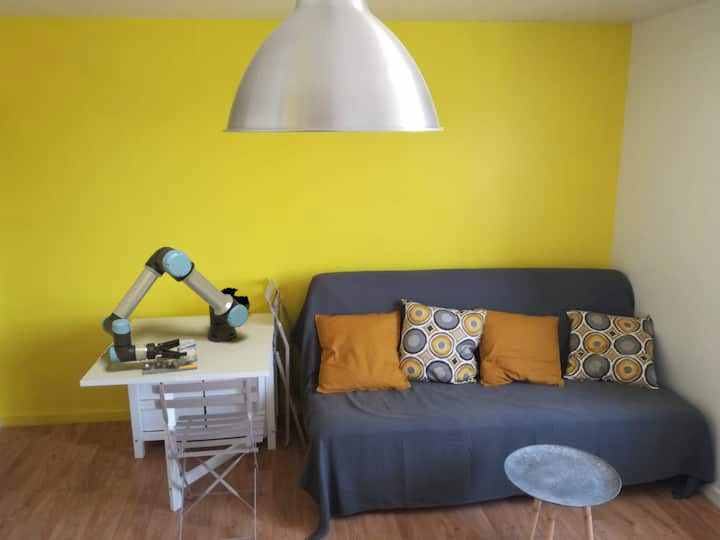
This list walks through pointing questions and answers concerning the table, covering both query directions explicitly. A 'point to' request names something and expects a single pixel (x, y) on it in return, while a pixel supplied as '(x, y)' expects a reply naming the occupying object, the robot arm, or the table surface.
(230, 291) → the bowl of black rocks
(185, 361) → the medicine box
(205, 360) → the table surface
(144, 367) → the breaker panel
